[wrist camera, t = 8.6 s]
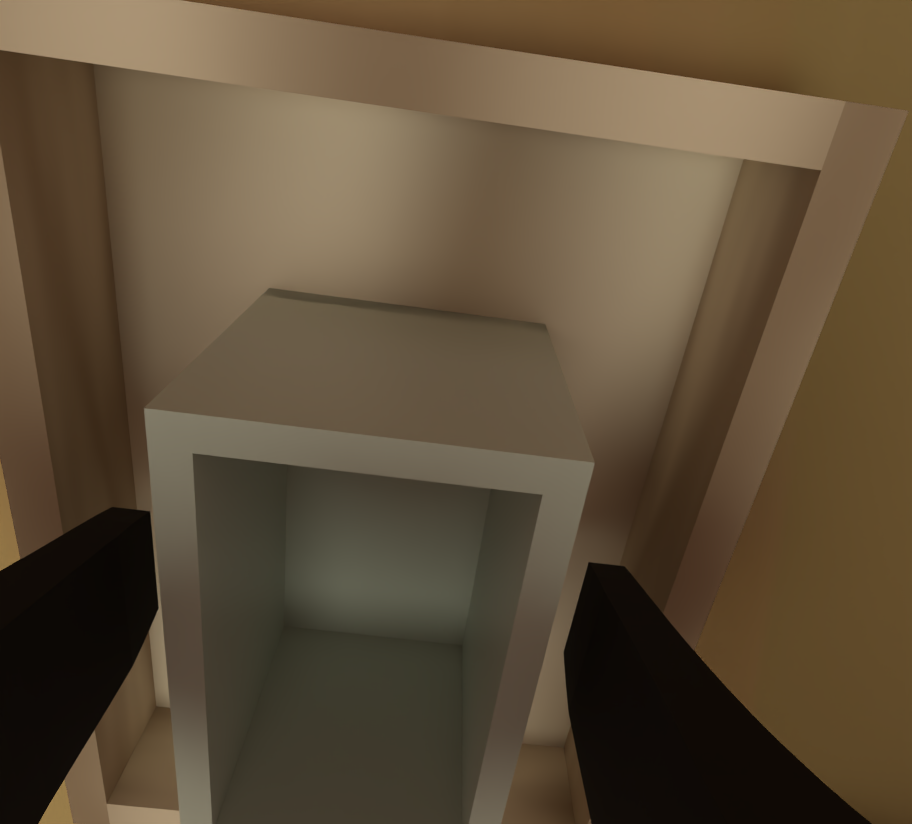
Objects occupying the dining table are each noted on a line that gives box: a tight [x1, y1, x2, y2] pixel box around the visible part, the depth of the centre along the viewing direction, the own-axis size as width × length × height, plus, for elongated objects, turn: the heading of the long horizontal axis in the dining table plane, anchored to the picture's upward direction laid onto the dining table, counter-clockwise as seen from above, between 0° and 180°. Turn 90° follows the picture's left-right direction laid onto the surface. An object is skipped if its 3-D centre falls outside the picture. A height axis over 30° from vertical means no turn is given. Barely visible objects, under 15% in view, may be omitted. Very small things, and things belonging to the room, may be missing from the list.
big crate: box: [0, 0, 909, 824], centre depth 12 cm, size 12×16×3 cm
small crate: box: [144, 288, 595, 824], centre depth 11 cm, size 5×8×5 cm, turn 173°
